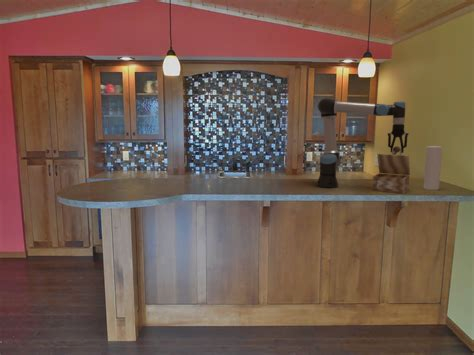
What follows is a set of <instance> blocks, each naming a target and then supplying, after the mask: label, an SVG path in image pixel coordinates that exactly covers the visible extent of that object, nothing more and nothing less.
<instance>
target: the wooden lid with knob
mask: <svg viewBox="0 0 474 355" xmlns="http://www.w3.org/2000/svg"><path fill="white" fill-rule="evenodd" d="M393 148H394V149H393V151H394V154H393V155H392V154H389V153H388V154H382V153H377V154H376V155H377V156H376V157H377V165H378V174H379V173H380V174H394V175H408V176H410V175H411V174H410V172H411V171H410V155H408V154H402V155H400V154H398V153H400V148H401V147H400V146H393Z"/></svg>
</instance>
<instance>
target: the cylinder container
mask: <svg viewBox="0 0 474 355" xmlns="http://www.w3.org/2000/svg"><path fill="white" fill-rule="evenodd" d="M425 150H426V151H425V161H424V162H425V165H424V177H423V178H424V179H423V189H425V190H429V191H438V189H439V190H440V180H441V167H442V166H441V165H442V157H443V156H442V153H443V146H438V145H429V146H426V149H425Z"/></svg>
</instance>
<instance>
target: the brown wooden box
mask: <svg viewBox="0 0 474 355" xmlns="http://www.w3.org/2000/svg"><path fill="white" fill-rule="evenodd" d="M371 188H372V191H373V192H383V193H393V194H406V193H407V192H408V191H409V189H410V175H400V174H386V173H379V172H378V173H377V174H375V175H373V176H372V187H371Z"/></svg>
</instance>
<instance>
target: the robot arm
mask: <svg viewBox="0 0 474 355" xmlns="http://www.w3.org/2000/svg"><path fill="white" fill-rule="evenodd" d="M317 109H318V111H319V112H320V118H321V119H322V120H323V136H324V137H323V138H324V152H323V154H321V155H320V158H319V176H318V180H317V182H316V186H317V187H318V186H319V188H323V187H330V188H329V189H333V188H332V187H335V188H338V187H339V182H338V178H337V169H338V168H340V164H341V158H340V152H339V151H338V150H337V149H338V148H337V147H338V146H337V134H336V117H337V116H338V113H346V114H357V115H358V114H359V115H372V116H376V117H390V116H392V130H391V132H389V133H387V136H388V139H387V140H388V141H387V147H388V148H390V153H391V155H393V154H394V151H393V149H394V147H395V142H396V139H397V138H399V142H400V147H399V148H400V151H399V155H403V153H404V150H405V148H407V146H408V136H409V133H408V132H405V123H406V122H405V120H406V119H405V118H406V101H394V102H393V104H386V103H370V102H355V101H352V102H351V101H341V100H340V101H338V99H333V98H329V97H325V98H322V99H320V100H319V102H318V104H317ZM392 136H393V137H392ZM403 136H404V140H403Z"/></svg>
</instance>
